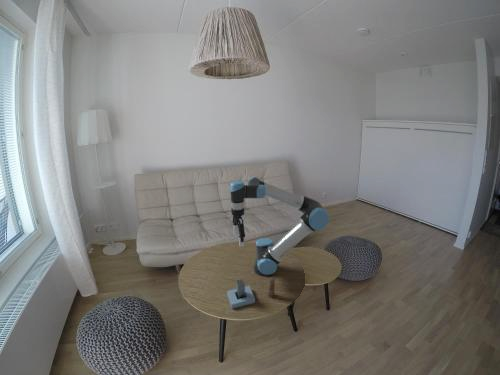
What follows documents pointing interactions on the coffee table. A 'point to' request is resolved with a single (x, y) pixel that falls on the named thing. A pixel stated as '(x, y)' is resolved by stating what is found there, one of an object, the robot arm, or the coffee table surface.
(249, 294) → the bore block
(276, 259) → the robot arm
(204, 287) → the coffee table surface
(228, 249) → the coffee table surface
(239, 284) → the square bit
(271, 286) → the walnut dowel
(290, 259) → the coffee table surface
